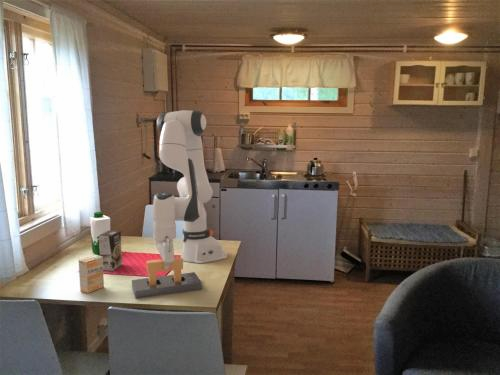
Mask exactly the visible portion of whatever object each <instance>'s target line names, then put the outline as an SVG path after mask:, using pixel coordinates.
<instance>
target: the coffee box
mask: <svg viewBox="0 0 500 375" xmlns="http://www.w3.org/2000/svg"><path fill="white" fill-rule="evenodd" d="M99 250H100V255H99V256H102V257H103V271H112V272H113V271H115V270H116V269H118V268H119V267H121V266H122V265H123V255H122V254H123V253H122V252H123V251H122V232H121V230H110V231H109V230H108V231H107V232H105V233H103V234H101V235H99Z"/></svg>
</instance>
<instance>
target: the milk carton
mask: <svg viewBox="0 0 500 375" xmlns="http://www.w3.org/2000/svg"><path fill="white" fill-rule="evenodd" d="M89 222H90V238H91V250H92V253H93V254H94V255H98V256H100V250H99V235H101V234H103V233H105V232H107V231H108V230H109V231H111V218H110V217H109V216H107V215H104V214H103V212H102V211H95V212H94V213H93V216H92V217H89Z"/></svg>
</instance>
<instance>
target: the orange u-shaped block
mask: <svg viewBox="0 0 500 375" xmlns="http://www.w3.org/2000/svg"><path fill="white" fill-rule="evenodd" d="M145 262H146V272H147V274H148V278H149V286H151V285H156V277H157V273H159V272H169V271H173V275H174V282H181V274H182V270H183V269H184V260H183V259H182V257H181V256H180V257H174V262H173V263H169V269H166V270H165V269H164V261H163V259H161V258H159V259H151V260H146V261H145Z"/></svg>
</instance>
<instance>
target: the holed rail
mask: <svg viewBox="0 0 500 375" xmlns="http://www.w3.org/2000/svg"><path fill="white" fill-rule="evenodd" d="M131 289H132V292H133V295H134V299H135V300H136V299H142V298H149V297H156V296H162V295H163V296H164V295H165V296H166V295H171V294H178V293H186V292H193V291H200V290H203V284H202V281H201V279H200V278H199V276H198V275H197V273H196V272H194V271H192V272H187V273H186V272H185V273H181V282H174V274H170V275H161V276H156V285H151V286H149V277H146V278H138V279H131Z"/></svg>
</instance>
